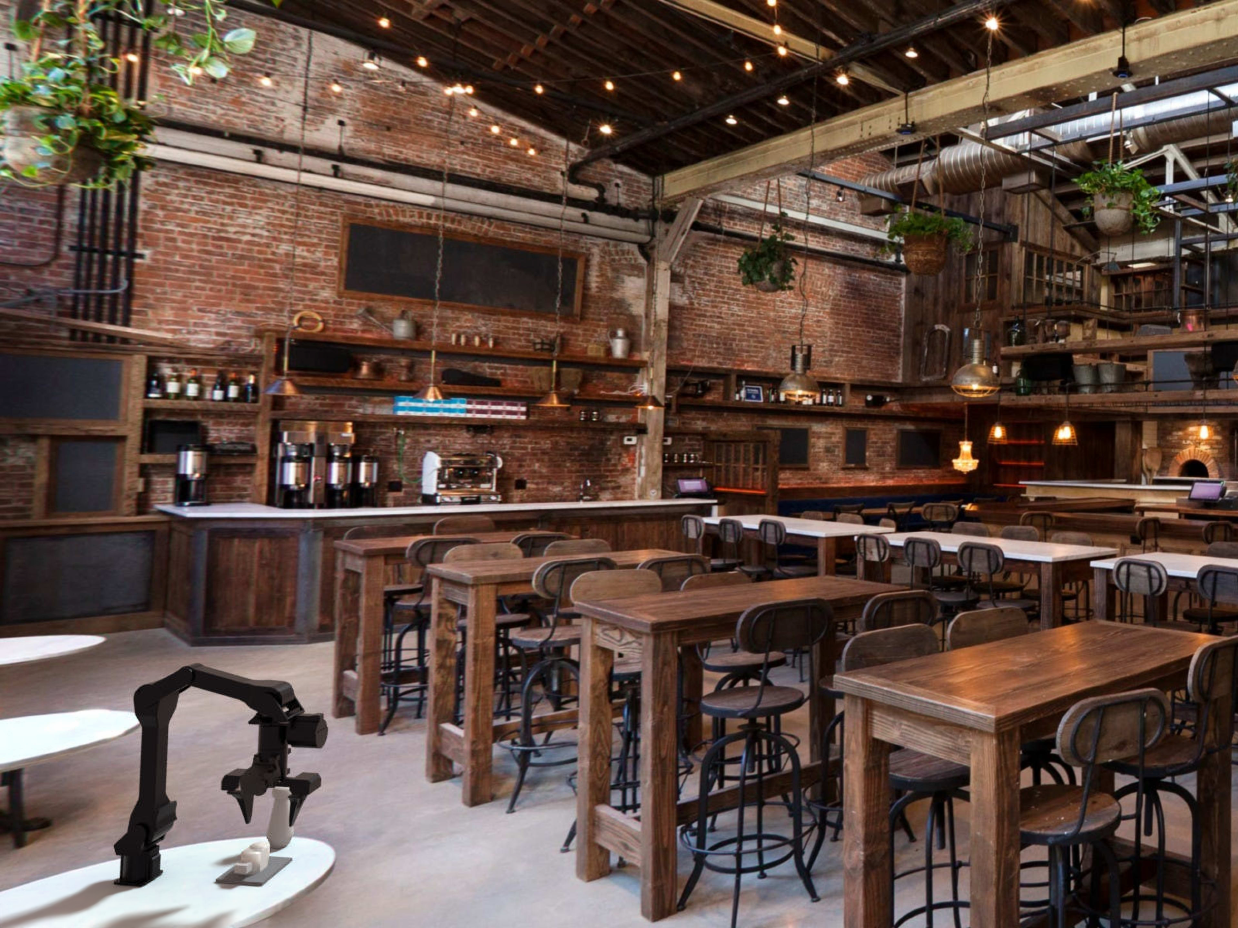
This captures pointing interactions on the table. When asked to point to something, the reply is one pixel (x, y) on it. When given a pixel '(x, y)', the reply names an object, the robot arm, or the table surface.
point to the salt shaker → (280, 819)
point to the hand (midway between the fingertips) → (269, 824)
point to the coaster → (257, 879)
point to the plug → (253, 859)
